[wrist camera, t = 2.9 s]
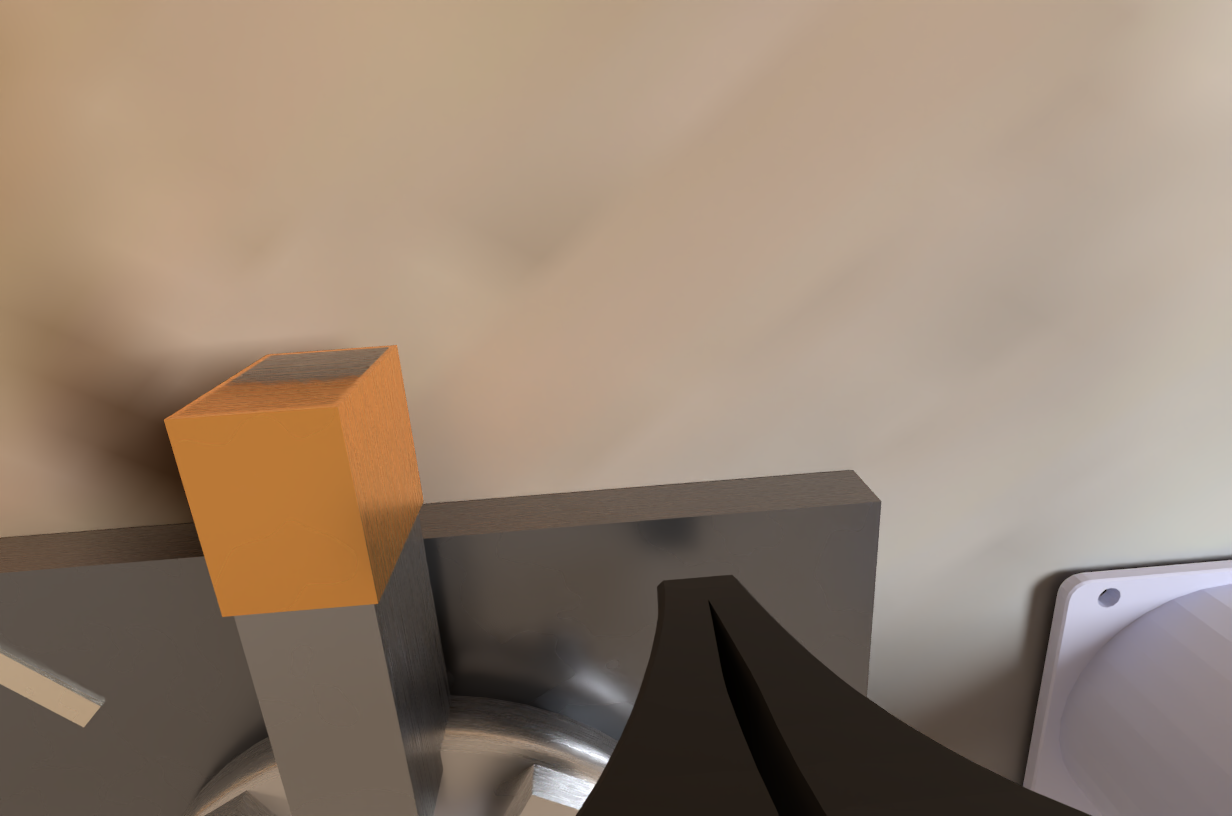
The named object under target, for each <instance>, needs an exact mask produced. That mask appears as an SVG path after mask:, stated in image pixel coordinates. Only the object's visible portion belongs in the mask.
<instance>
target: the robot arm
mask: <svg viewBox="0 0 1232 816" xmlns="http://www.w3.org/2000/svg"><path fill="white" fill-rule="evenodd" d="M1106 589H1107V590H1106ZM1104 590H1106V592H1105V593H1104V594H1103V595H1101V596H1100V594H1101V593H1102V592H1103V591H1104ZM657 600H658V619H657V626H656V632H655V636H654V641H653V645H652V650H651V654H650V658H649V662H648V665H647V668H646V671H645V674H644V678H643V681H642V684H641V687H640V690H639V693H638V696H637V699H636V701H635V704H634V706H633V709H632V711H631V714H630V716H629V719H628V721H627V723H626V726H625V728H624V730H623V732H622V735H621V737H620V739H619V741H618V743H617V745H616V747H615V749H614V751H613V753H612V755H611V757H610V759H609V761H608V763H607V765H606V766H605V768H604V770H603V772H602V774H601V776H600V777H599V779H598V781H597V783H596V784H595V786H594V787H593V789H592V791H591V792H590V794H589V795H588V797H587V798H586V800H585V802H584V803H583V805H582V806H581V808H580V809H579V811H578V813H577V814H576V816H1232V560H1225V561H1213V562H1201V563H1190V564H1178V565H1166V566H1155V567H1143V568H1131V569H1120V570H1108V571H1096V572H1084V573H1079V574H1075V575H1072V576H1070V577H1069V578H1067V579H1066V580H1065V581H1064V582H1063V583H1062V584H1061V585H1060V588H1059V590H1058V593H1057V598H1056V604H1055V609H1054V615H1053V621H1052V626H1051V632H1050V637H1049V643H1048V649H1047V654H1046V660H1045V665H1044V671H1043V677H1042V682H1041V688H1040V693H1039V699H1038V705H1037V710H1036V716H1035V722H1034V727H1033V733H1032V738H1031V744H1030V750H1029V755H1028V761H1027V766H1026V772H1025V778H1024V783H1023V786H1021V785H1018V784H1016V783H1014V782H1012V781H1010V780H1008V779H1006V778H1004V777H1002V776H1000V775H998V774H996V773H994V772H992V771H990V770H988V769H986V768H984V767H982V766H980V765H977V764H976V763H974V762H972V761H970V760H968V759H966V758H964V757H962V756H961V755H959V754H957V753H955V752H953V751H951V750H949V749H948V748H946V747H944V746H942V745H941V744H939V743H937V742H936V741H934V740H932V739H930V738H929V737H927V736H925V735H924V734H922V733H920V732H919V731H917V730H915V729H913V728H912V727H910V726H908V725H907V724H905V723H904V722H902V721H901V720H899V719H897V718H896V717H894V716H893V715H891V714H890V713H888V712H887V711H885V710H884V709H882V708H881V707H880V706H878V705H877V704H875V703H874V702H872V701H871V700H870V699H868V698H867V697H865V696H864V695H862V694H861V693H860V692H858V691H857V690H855V689H854V688H853V687H851V686H850V685H849V684H847V683H846V682H845V681H843V680H842V679H841V678H840V677H838V676H837V675H836V674H835V673H834V672H832V671H831V670H830V669H829V668H828V667H826V666H825V665H824V664H823V663H822V662H821V661H819V660H818V659H817V658H816V657H815V656H814V655H813V654H811V653H810V652H809V651H808V650H807V649H806V648H805V647H804V646H803V645H802V644H801V643H799V642H798V641H797V640H796V639H795V638H794V637H793V636H792V635H791V634H790V633H789V632H788V631H787V630H786V629H785V628H784V627H783V626H782V625H781V624H780V623H779V622H778V621H776V620H775V619H774V618H773V616H772V615H771V614H770V613H769V612H768V611H767V610H766V609H765V608H764V607H763V606H762V605H761V604H760V603H759V602H758V601H757V600H756V599H755V598H754V597H753V596H752V594H751V593H750V592H749V591H748V590H747V589H746V588H745V587H744V586H743V585H742V584H741V582H740V581H739V580H738V579H737V578H735V577H734V576H733V575H722V576H710V577H698V578H686V579H674V580H663V581H662V582H661V583H660V584H659V585H658V586H657Z"/></svg>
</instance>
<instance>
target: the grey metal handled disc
mask: <svg viewBox="0 0 1232 816" xmlns="http://www.w3.org/2000/svg"><path fill="white" fill-rule="evenodd" d="M164 422H165V426H166V429H167V432H168V436H169V439H170V442H171V446H172V449H173V453H174V456H175V459H176V463H177V466H178V469H179V473H180V476H181V480H182V483H183V486H184V490H185V493H186V496H187V500H188V503H189V506H190V510H191V513H192V517H193V520H194V523H195V527H196V530H197V533H198V537H199V540H200V544H201V547H202V550H203V554H204V557H205V560H206V564H207V567H208V570H209V574H210V577H211V581H212V584H213V587H214V591H215V594H216V597H217V601H218V604H219V608H220V611H221V614H222V617H228V616H234V618H235V622H236V625H237V629H238V632H239V636H240V639H241V643H242V646H243V649H244V653H245V656H246V660H247V663H248V667H249V670H250V674H251V677H252V680H253V684H254V687H255V691H256V694H257V698H258V701H259V705H260V708H261V711H262V715H263V718H264V722H265V725H266V729H267V732H268V736H269V737H267V738H265V739H263V740H261V741H259V742H258V743H256V744H254V745H253V746H252V747H250V748H249V749H247V750H246V751H245V752H243V753H242V754H240V755H239V756H238V757H236V758H235V759H233V760H232V761H231V762H229V763H228V764H227V765H226V766H225V767H224V768H223V769H222V770H221V771H220V772H218V773H217V774H216V775H215V776H214V777H213V778H212V779H211V780H210V781H209V782H208V783H207V784H206V785H205V786H204V787H203V788H202V790H201V791H200V792H199V794H198V795H197V796H196V798H195V799H194V800H193V802H192V803H191V804H190V806H189V807H188V808H187V810H186V811H185V813H184V814H183V816H576V814H577V813H578V811H579V809H580V808H581V806H582V805H583V803H584V802H585V800H586V798H587V797H588V795H589V794H590V792H591V791H592V789H593V787H594V786H595V784H596V783H597V781H598V779H599V777H600V776H601V774H602V772H603V770H604V768H605V766H606V765H607V763H608V761H609V759H610V757H611V755H612V753H613V751H614V749H615V747H616V745H617V743H618V741H617V740H615V739H613V738H612V737H610V736H608V735H606V734H605V733H603V732H601V731H599V730H597V729H595V728H592V727H590V726H588V725H585V724H583V723H580V722H578V721H576V720H573V719H571V718H568V717H566V716H564V715H560V714H557V713H553V712H550V711H546V710H543V709H539V708H536V707H533V706H529V705H525V704H520V703H514V702H508V701H502V700H497V699H491V698H483V697H469V696H454V695H450V691H449V685H448V679H447V673H446V668H445V662H444V656H443V650H442V645H441V639H440V633H439V628H438V622H437V616H436V610H435V605H434V599H433V593H432V587H431V582H430V576H429V570H428V564H427V559H426V553H425V547H424V542H423V536H422V530H421V524H420V519H419V511H420V508H421V506H422V504H423V502H424V501H423V495H422V489H421V484H420V478H419V472H418V466H417V460H416V454H415V448H414V442H413V437H412V431H411V425H410V419H409V413H408V407H407V401H406V396H405V390H404V384H403V378H402V372H401V366H400V360H399V355H398V349H397V345H392V346H379V347H365V348H351V349H337V350H323V351H309V352H295V353H282V354H268V355H266V356H264V357H263V358H261V359H259V360H258V361H256V362H255V363H253V364H251V365H250V366H248V367H247V368H245V369H244V370H242V371H240V372H239V373H237V374H236V375H234V376H232V377H231V378H229V379H228V380H226V381H225V382H223V383H221V384H220V385H218V386H217V387H215V388H213V389H212V390H210V391H209V392H207V393H205V394H204V395H202V396H201V397H199V398H198V399H196V400H194V401H193V402H191V403H190V404H188V405H186V406H185V407H183V408H182V409H180V410H179V411H177V412H175V413H174V414H172V415H171V416H169V417H167V418H166V419H164Z"/></svg>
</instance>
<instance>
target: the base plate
mask: <svg viewBox="0 0 1232 816" xmlns="http://www.w3.org/2000/svg"><path fill="white" fill-rule="evenodd" d="M880 512H881V501H880V499H879V498H878V497H877V496H876V495H875V494H874V493H873V492H872V491H871V489H870V488H869V487H868V486H867V485H866V484H865V483H864V482H863V481H862V479H861V478H860V477H859V476H858V475H857V474H856V473H855V472H854V471H853V470H850V471H838V472H825V473H813V474H800V475H788V476H775V477H763V478H750V479H737V480H725V481H712V482H700V483H687V484H675V485H662V486H650V487H637V488H624V489H612V490H599V491H587V492H574V493H562V494H549V495H537V496H524V497H511V498H499V499H486V500H474V501H461V502H449V503H436V504H424V505H422V506H421V508H420V511H419V519H420V524H421V530H422V536H423V542H424V547H425V553H426V559H427V564H428V570H429V576H430V582H431V587H432V593H433V599H434V605H435V610H436V616H437V622H438V628H439V633H440V639H441V645H442V650H443V656H444V662H445V668H446V673H447V679H448V685H449V691H450V695H454V696H469V697H483V698H491V699H497V700H502V701H508V702H514V703H520V704H525V705H529V706H533V707H536V708H539V709H543V710H546V711H550V712H553V713H557V714H560V715H564V716H566V717H568V718H571V719H573V720H576V721H578V722H580V723H583V724H585V725H588V726H590V727H592V728H595V729H597V730H599V731H601V732H603V733H605V734H606V735H608V736H610V737H612V738H613V739H615V740H617V741H619V739H620V737H621V735H622V732H623V730H624V728H625V726H626V723H627V721H628V719H629V716H630V714H631V711H632V709H633V706H634V704H635V701H636V699H637V696H638V693H639V690H640V687H641V684H642V681H643V678H644V674H645V671H646V668H647V665H648V662H649V658H650V654H651V650H652V645H653V641H654V636H655V632H656V626H657V619H658V600H657V586H658V585H659V584H660V583H661V582H662V581H663V580H674V579H686V578H698V577H710V576H722V575H733V576H734V577H735V578H737V579H738V580H739V581H740V582H741V584H742V585H743V586H744V587H745V588H746V589H747V590H748V591H749V592H750V593H751V594H752V596H753V597H754V598H755V599H756V600H757V601H758V602H759V603H760V604H761V605H762V606H763V607H764V608H765V609H766V610H767V611H768V612H769V613H770V614H771V615H772V616H773V618H774V619H775V620H776V621H778V622H779V623H780V624H781V625H782V626H783V627H784V628H785V629H786V630H787V631H788V632H789V633H790V634H791V635H792V636H793V637H794V638H795V639H796V640H797V641H798V642H799V643H801V644H802V645H803V646H804V647H805V648H806V649H807V650H808V651H809V652H810V653H811V654H813V655H814V656H815V657H816V658H817V659H818V660H819V661H821V662H822V663H823V664H824V665H825V666H826V667H828V668H829V669H830V670H831V671H832V672H834V673H835V674H836V675H837V676H838V677H840V678H841V679H842V680H843V681H845V682H846V683H847V684H849V685H850V686H851V687H853V688H854V689H855V690H857V691H858V692H860V693H861V694H862V695H864V696H865V697H867V685H868V672H869V658H870V645H871V632H872V618H873V605H874V592H875V578H876V565H877V552H878V538H879V525H880ZM267 737H269V736H268V732H267V729H266V725H265V722H264V718H263V715H262V711H261V708H260V705H259V701H258V698H257V694H256V691H255V687H254V684H253V680H252V677H251V674H250V670H249V667H248V663H247V660H246V656H245V653H244V649H243V646H242V643H241V639H240V636H239V632H238V629H237V625H236V622H235V618H234V616H228V617H222V614H221V611H220V608H219V604H218V601H217V597H216V594H215V591H214V587H213V584H212V581H211V577H210V574H209V570H208V567H207V564H206V560H205V557H204V554H203V550H202V547H201V544H200V540H199V537H198V533H197V530H196V527H195V523H185V524H173V525H160V526H148V527H135V528H122V529H110V530H97V531H85V532H72V533H60V534H47V535H35V536H22V537H9V538H0V816H183V814H184V813H185V811H186V810H187V808H188V807H189V806H190V804H191V803H192V802H193V800H194V799H195V798H196V796H197V795H198V794H199V792H200V791H201V790H202V788H203V787H204V786H205V785H206V784H207V783H208V782H209V781H210V780H211V779H212V778H213V777H214V776H215V775H216V774H217V773H218V772H220V771H221V770H222V769H223V768H224V767H225V766H226V765H227V764H228V763H229V762H231V761H232V760H233V759H235V758H236V757H238V756H239V755H240V754H242V753H243V752H245V751H246V750H247V749H249V748H250V747H252V746H253V745H254V744H256V743H258V742H259V741H261V740H263V739H265V738H267Z"/></svg>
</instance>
